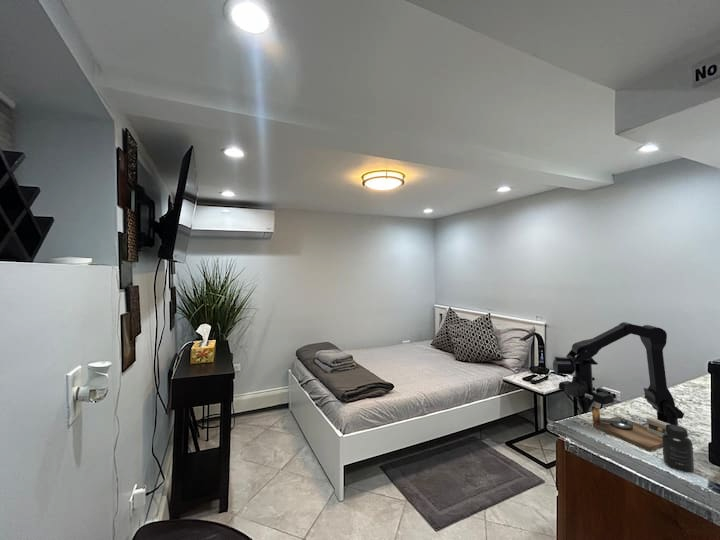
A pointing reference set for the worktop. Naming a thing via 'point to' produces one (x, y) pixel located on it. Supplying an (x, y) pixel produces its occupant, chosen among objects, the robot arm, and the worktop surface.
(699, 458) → the worktop surface
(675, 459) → the supplement bottle
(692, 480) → the worktop surface
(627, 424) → the cam lever
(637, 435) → the stand
